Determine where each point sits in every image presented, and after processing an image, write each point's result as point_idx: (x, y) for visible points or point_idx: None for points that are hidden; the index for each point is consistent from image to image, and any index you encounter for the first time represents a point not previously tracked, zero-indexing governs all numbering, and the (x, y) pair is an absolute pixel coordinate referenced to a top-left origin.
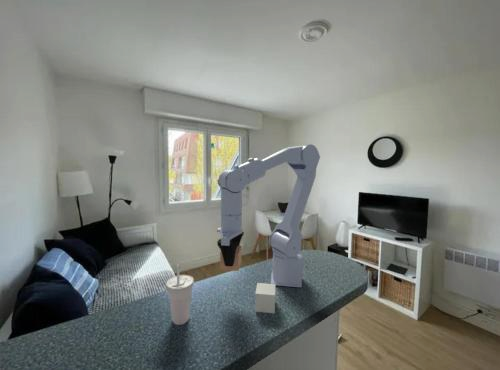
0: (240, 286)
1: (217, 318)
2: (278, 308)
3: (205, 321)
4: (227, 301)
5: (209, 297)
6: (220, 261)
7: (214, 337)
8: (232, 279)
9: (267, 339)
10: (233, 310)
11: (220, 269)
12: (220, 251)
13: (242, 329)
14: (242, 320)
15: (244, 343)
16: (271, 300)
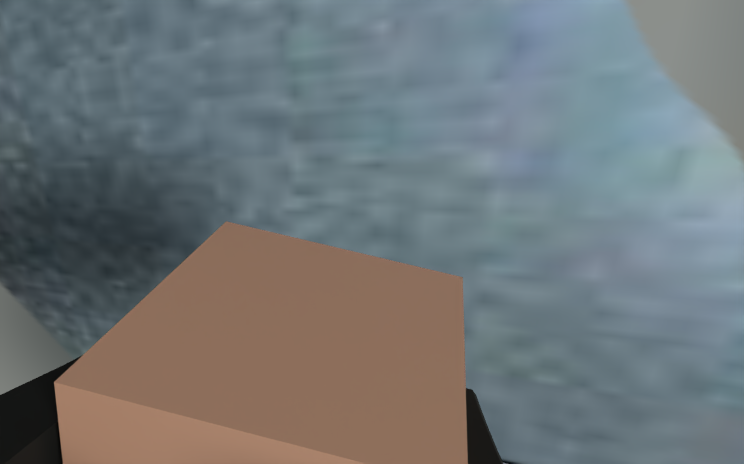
0: (497, 275)
1: (148, 119)
2: None
3: (111, 42)
4: (315, 179)
5: (364, 36)
6: (171, 276)
7: (12, 112)
8: (620, 221)
9: (62, 346)
10: (228, 215)
11: (224, 224)
12: (69, 387)
13: (94, 253)
14: (154, 259)
15: (17, 255)
16: None
